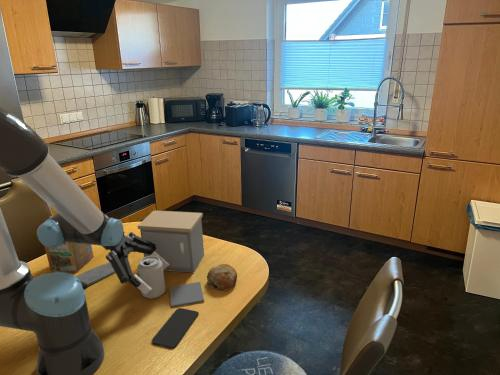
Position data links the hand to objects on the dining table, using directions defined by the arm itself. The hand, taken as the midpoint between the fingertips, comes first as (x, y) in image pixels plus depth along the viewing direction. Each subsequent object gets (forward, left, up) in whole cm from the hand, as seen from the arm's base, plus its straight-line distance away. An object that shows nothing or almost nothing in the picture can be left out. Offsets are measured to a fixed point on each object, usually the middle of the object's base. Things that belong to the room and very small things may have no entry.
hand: (158, 278), depth 117 cm
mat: (-3, -8, -5) cm, 10 cm away
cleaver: (+13, +26, -6) cm, 30 cm away
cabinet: (+18, -6, -5) cm, 20 cm away
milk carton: (+28, +31, -6) cm, 42 cm away
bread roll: (+1, -20, -6) cm, 21 cm away
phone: (-18, -4, -6) cm, 19 cm away
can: (+1, +2, -6) cm, 6 cm away
